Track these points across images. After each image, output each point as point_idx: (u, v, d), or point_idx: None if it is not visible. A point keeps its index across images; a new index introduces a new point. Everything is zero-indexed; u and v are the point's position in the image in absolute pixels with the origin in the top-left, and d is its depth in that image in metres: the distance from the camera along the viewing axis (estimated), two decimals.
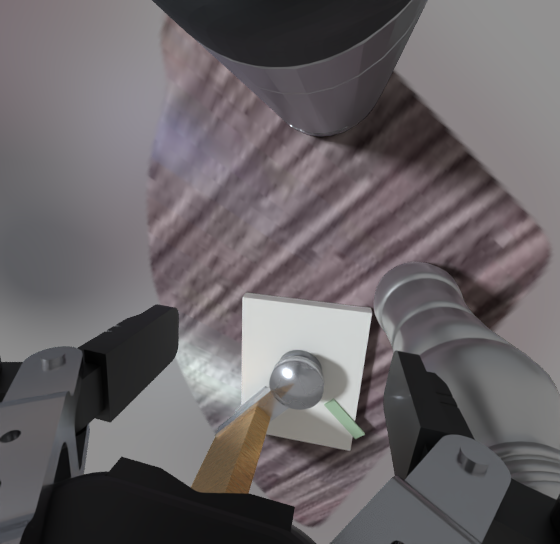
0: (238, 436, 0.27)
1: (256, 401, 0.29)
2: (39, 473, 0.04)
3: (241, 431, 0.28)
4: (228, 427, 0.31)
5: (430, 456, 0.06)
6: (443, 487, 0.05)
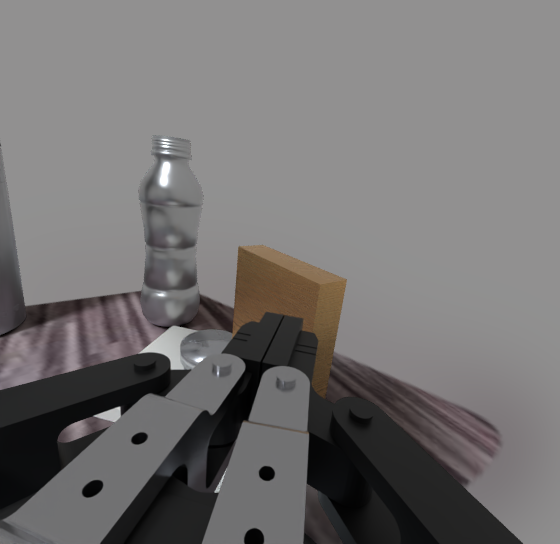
0: None
1: None
2: (129, 499, 0.04)
3: None
4: None
5: (259, 393, 0.07)
6: (274, 410, 0.07)
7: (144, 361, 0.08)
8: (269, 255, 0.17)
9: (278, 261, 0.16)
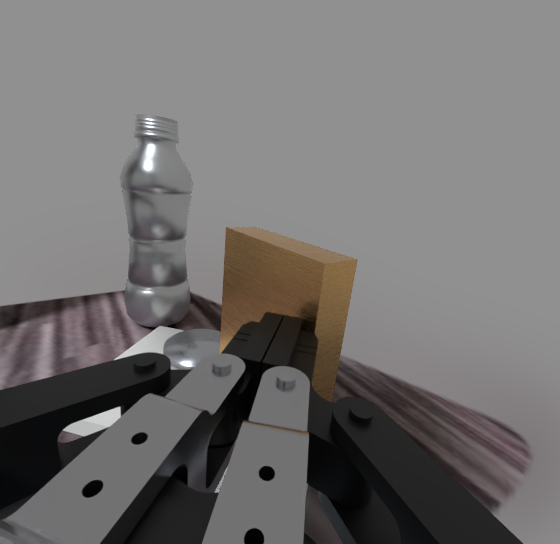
0: None
1: None
2: (129, 499, 0.04)
3: None
4: None
5: (259, 393, 0.07)
6: (274, 410, 0.07)
7: (144, 361, 0.08)
8: (262, 235, 0.15)
9: (272, 241, 0.13)
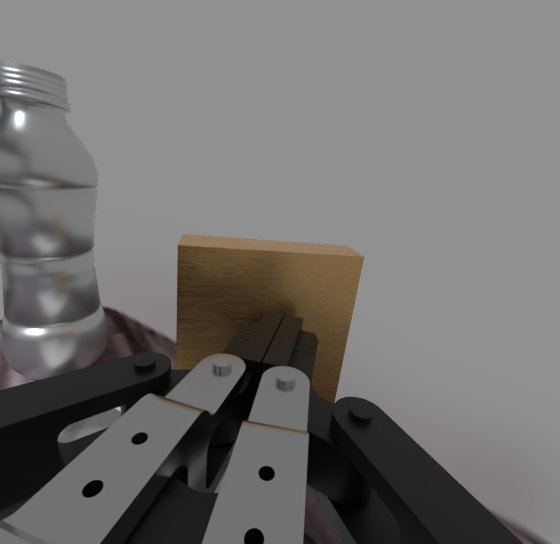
0: None
1: None
2: (129, 499, 0.04)
3: None
4: None
5: (259, 393, 0.07)
6: (274, 410, 0.07)
7: (144, 361, 0.08)
8: (241, 244, 0.12)
9: (275, 248, 0.12)
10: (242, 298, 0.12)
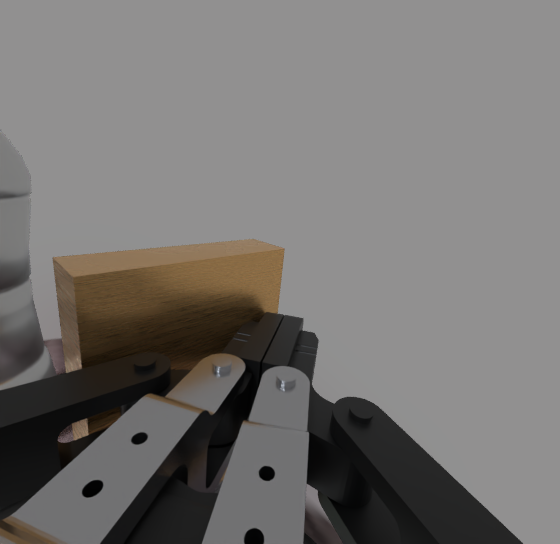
0: None
1: None
2: (129, 499, 0.04)
3: None
4: None
5: (259, 393, 0.07)
6: (274, 410, 0.07)
7: (144, 361, 0.08)
8: (156, 257, 0.09)
9: (200, 255, 0.10)
10: (172, 325, 0.09)
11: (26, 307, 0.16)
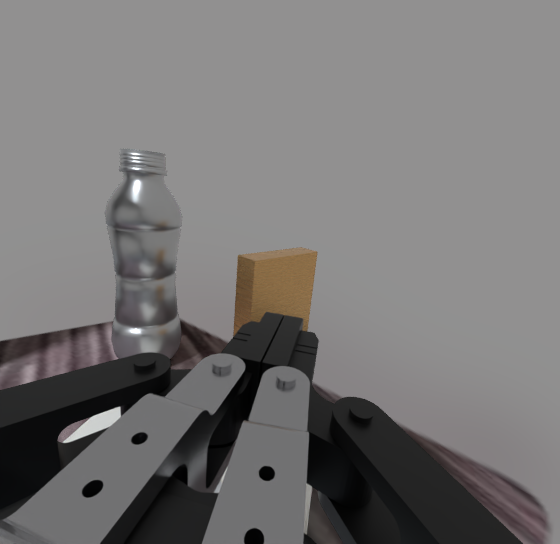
0: None
1: None
2: (129, 498, 0.04)
3: None
4: None
5: (259, 393, 0.07)
6: (274, 410, 0.07)
7: (144, 361, 0.08)
8: (271, 255, 0.23)
9: (285, 254, 0.23)
10: (276, 282, 0.23)
11: (174, 285, 0.30)
